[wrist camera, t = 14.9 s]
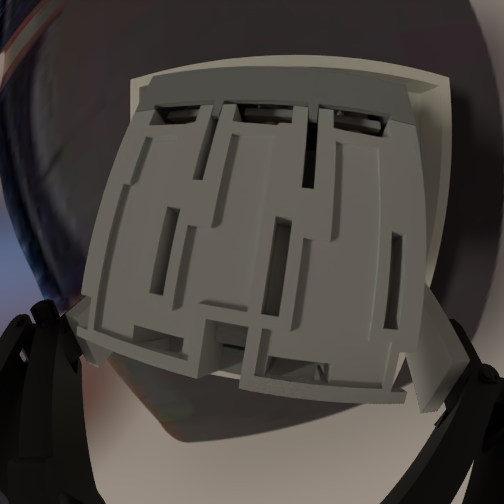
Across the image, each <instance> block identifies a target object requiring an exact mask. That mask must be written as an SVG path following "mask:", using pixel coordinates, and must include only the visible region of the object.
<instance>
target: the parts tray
mask: <svg viewBox="0 0 504 504" xmlns="http://www.w3.org/2000/svg"><path fill="white" fill-rule="evenodd" d="M237 66H284V67H302V68H315V69H324V70H333V71H341V72H347V73H354V74H360V75H365V76H370V77H375V78H380V79H385V80H389V81H393V82H397V83H401V84H405V85H406V87H407V91H408V95H409V99H410V103H411V107H412V112H413V116H414V121H415V126H416V132H417V137H418V143H419V149H420V156H421V164H422V172H423V182H424V193H425V209H426V273H425V282H426V284H427V285H428V287H429V288H430V285H431V281H432V278H433V274H434V270H435V266H436V262H437V257H438V253H439V248H440V243H441V238H442V233H443V227H444V221H445V215H446V208H447V201H448V192H449V182H450V170H451V151H452V114H451V96H450V84H449V78H448V77H445V76H441V75H438V74H434V73H431V72H427V71H423V70H419V69H415V68H410V67H406V66H401V65H396V64H390V63H385V62H378V61H372V60H364V59H356V58H346V57H334V56H316V55H275V56H256V57H244V58H234V59H226V60H218V61H211V62H205V63H199V64H193V65H188V66H183V67H178V68H174V69H169V70H165V71H161V72H157V73H153V74H149V75H146V76H142V77H139V78H135V79H132V80H131V94H130V109H131V119H132V117H133V115H134V113H135V111H136V109H137V106H138V104H139V102H140V100H141V98H142V96H143V94H144V92H145V90H146V88H147V86H148V85H149V83H150V81H151V79H152V77H153V76H156V75H162V74H168V73H174V72H181V71H189V70H197V69H207V68H219V67H237ZM405 357H406V355H405V353H403V352H399V357H398V362H397V367H396V372H395V376H394V381H395V379H396V377H397V375H398V373H399V370H400V368H401V366H402V364H403V361H404V359H405ZM211 374H213V375H218V376H224V377H229V378H235V379H240V376H241V375H238V374H233V373H228V372H224V371H217V372H214V373H211ZM394 381H393V383H394Z"/></svg>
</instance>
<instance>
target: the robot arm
mask: <svg viewBox="0 0 504 504" xmlns="http://www.w3.org/2000/svg"><path fill="white" fill-rule="evenodd" d="M90 304H91V297H89V296H84V297H83V299H81V300H80V301H78V303H76V304H75V305H74V306H72V307H71V308H70V309H69V310H68V311H67V312H65V313H64V314H63V315H62V316H61V317H60V316H59V313H58V311H57V308H56V306H55V303H54V301H53V300H49V299H47V300H42V301H39V302H38V303H36V304H35V305H34V306H32V308H31V309H30V311H31V313H32V315H33V318H34V320H35V322H36V324H33V323H32V321H31V319H30V317H29V316H28V315H27V314H22V315H21V314H20V315H18V316H16V317H15V318H14V319H13V320H12V321H11V322H10V323H9V325H8V326H7V328H6V329H5V331H4V333H3V334H2V336H1V337H0V504H106V503H105V502H104V500H103V498H102V497H101V496H100V494H99V493H98V491H97V489H96V485H95V481H94V476H93V472H92V467H91V462H90V457H89V450H88V444H87V437H86V429H85V420H84V409H83V397H82V396H83V395H82V369H81V368H82V366H81V365H82V364H81V361H80V359H79V357H80V356H81V355H82V354H83V355H84V357H85V359H86V361H87V362H88V363H89V364H91V365H93V366H96V367H98V368H100V366H101V365H102V364H103V363H104V362H105V360H106V359H107V358H108V357H109V356H110V354H111V353H112V352H113V351H112V350H109V349H107V348H104V347H102V346H99V345H97V344H95V343H92V342H90V341H88V340H85V339H83V338H81V337H79V336H77V326H87V327H88V320H89V311H90ZM21 350H22V352H23V354H24V356H25V357H26V361H25V362H23V360H22V359H21V357H20V355H19V354H20V352H21ZM405 355H406V358H407V362H408V365H409V369H410V372H411V376H412V380H413V383H414V387H415V391H416V395H417V400H418V404H419V408H420V413H428V412H435V411H437V410H438V409H439V408H440V406H441V405H442V404H443V402H444V403H445V406H446V410H445V412H444V413H443V414H442V416H441V417H440V418H439V419H438V421H437V422H436V423H435V424H434V425H435V426H436V427H435V429H434V430H433V432H432V434H431V435H430V437H429V439H428V440H427V442H426V444H425V445H424V447H423V448H422V450H421V452H420V453H419V454H418V456H417V457H416V459H415V460H414V462H413V463H412V464H411V466H410V467H409V469H408V470H407V471H406V473H405V474H404V475H403V477H402V478H401V479H400V480H399V482H398V483H397V484H396V485H395V487H394V488H393V489H392V490H391V492H390V493H389V494H388V495H387V496H386V497H385V499H384V500H383V501H382V502H381V503H380V504H451V502H452V500H453V499H454V497H455V495H456V494H457V492H458V490H459V488H460V486H461V485H462V483H463V481H464V479H465V477H466V475H467V473H468V471H469V469H470V467H471V465H472V463H473V460H474V463H473V467H472V471H471V475H470V480H469V483H468V486H467V490H466V493H465V496H464V499H463V502H462V504H504V378H501V377H500V376H499V374H498V372H497V371H496V370H495V368H493V367H492V366H490V365H488V364H482V362H481V361H480V359H479V357H478V355H477V353H476V351H475V349H474V347H473V345H472V343H471V342H470V340H469V338H468V336H466V333H465V331H464V329H463V328H462V326H461V325H460V324H459V323H458V322H457V321H456V320H454V319H448V318H447V316H446V314H445V313H444V311H443V309H442V308H441V306H440V304H439V303H438V301H437V299H436V298H435V296H434V294H433V293H432V291H431V290H430V288H429V287H428V285H427V284H426V282H425V288H424V300H423V309H422V318H421V325H420V332H419V338H418V344H417V350H416V353H405Z"/></svg>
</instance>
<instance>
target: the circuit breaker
mask: <svg viewBox="0 0 504 504" xmlns="http://www.w3.org/2000/svg"><path fill="white" fill-rule="evenodd" d="M425 273H426V209H425V193H424V182H423V172H422V164H421V156H420V149H419V143H418V137H417V132H416V126H415V121H414V116H413V112H412V107H411V103H410V99H409V95H408V91H407V87H406V85H405V84H401V83H397V82H393V81H389V80H385V79H380V78H375V77H370V76H365V75H360V74H354V73H347V72H341V71H333V70H324V69H315V68H302V67H284V66H237V67H219V68H207V69H197V70H189V71H181V72H174V73H168V74H162V75H156V76H153V77H152V79H151V81H150V83H149V85H148V86H147V88H146V90H145V92H144V94H143V96H142V98H141V100H140V102H139V104H138V106H137V109H136V111H135V113H134V115H133V117H132V119H131V122H130V124H129V126H128V129H127V131H126V133H125V136H124V138H123V141H122V143H121V146H120V148H119V151H118V153H117V156H116V159H115V162H114V164H113V167H112V170H111V173H110V176H109V179H108V182H107V185H106V188H105V191H104V194H103V198H102V201H101V204H100V208H99V211H98V215H97V219H96V223H95V226H94V230H93V235H92V239H91V243H90V248H89V252H88V257H87V262H86V267H85V273H84V279H83V285H82V291H81V294H83V295H86V296H89V297H91V304H90V311H89V320H88V327H87V326H77V336H79V337H81V338H83V339H85V340H88V341H90V342H92V343H95V344H97V345H99V346H102V347H104V348H107V349H109V350H112V351H114V352H117V353H119V354H122V355H124V356H127V357H130V358H133V359H135V360H138V361H141V362H144V363H147V364H150V365H153V366H156V367H159V368H162V369H165V370H168V371H172V372H175V373H178V374H182V375H185V376H189V377H193V378H196V379H198V378H201V377H203V376H206V375H209V374H211V373H214V372H217V371H224V372H228V373H233V374H238V375H241V376H240V383H239V389H244V390H249V391H254V392H260V393H266V394H272V395H278V396H285V397H292V398H300V399H309V400H318V401H330V402H344V403H368V404H398V403H399V404H400V403H404V402H405V399H406V395H407V392H406V391H405V390H403V389H401V388H392V385H393V381H394V376H395V372H396V367H397V362H398V357H399V352H403V353H416V350H417V344H418V338H419V332H420V325H421V318H422V309H423V300H424V288H425Z"/></svg>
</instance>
